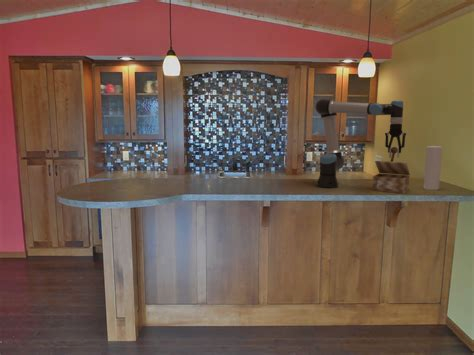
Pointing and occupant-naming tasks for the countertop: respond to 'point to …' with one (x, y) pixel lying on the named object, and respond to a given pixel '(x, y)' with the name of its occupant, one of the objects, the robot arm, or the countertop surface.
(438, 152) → the cylinder container
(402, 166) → the wooden lid with knob
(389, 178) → the brown wooden box
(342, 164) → the robot arm
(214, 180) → the countertop surface
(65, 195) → the countertop surface
